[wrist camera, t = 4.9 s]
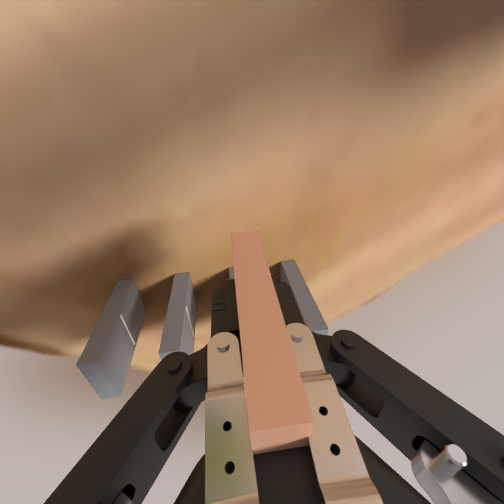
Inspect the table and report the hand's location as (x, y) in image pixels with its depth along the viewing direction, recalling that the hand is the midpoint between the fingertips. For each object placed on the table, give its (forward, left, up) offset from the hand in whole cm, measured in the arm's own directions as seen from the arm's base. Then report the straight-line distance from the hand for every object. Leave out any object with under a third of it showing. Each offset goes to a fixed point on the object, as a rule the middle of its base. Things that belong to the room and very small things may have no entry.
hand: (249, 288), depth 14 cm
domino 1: (+12, +10, -12) cm, 20 cm away
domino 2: (+6, +10, -12) cm, 17 cm away
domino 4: (-6, +10, -12) cm, 17 cm away
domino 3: (0, 0, -2) cm, 2 cm away
